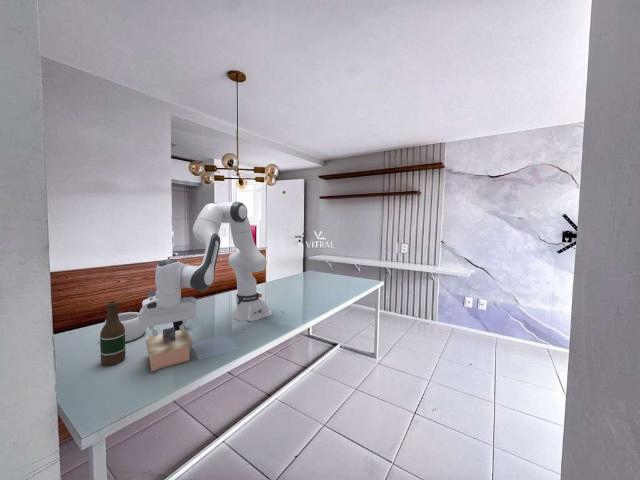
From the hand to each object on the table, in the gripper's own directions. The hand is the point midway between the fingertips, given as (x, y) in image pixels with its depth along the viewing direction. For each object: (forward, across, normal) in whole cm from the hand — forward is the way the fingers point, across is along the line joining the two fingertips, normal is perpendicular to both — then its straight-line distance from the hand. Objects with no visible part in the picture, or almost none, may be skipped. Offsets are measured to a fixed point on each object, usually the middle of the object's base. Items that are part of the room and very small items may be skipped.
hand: (168, 332), depth 104 cm
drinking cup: (+11, -8, -28) cm, 31 cm away
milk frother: (+11, -4, -54) cm, 56 cm away
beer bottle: (+11, +18, -10) cm, 23 cm away
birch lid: (+4, 0, 0) cm, 4 cm away
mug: (+11, +15, -31) cm, 36 cm away
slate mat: (+11, -18, 0) cm, 21 cm away
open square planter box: (+11, 0, 0) cm, 11 cm away
